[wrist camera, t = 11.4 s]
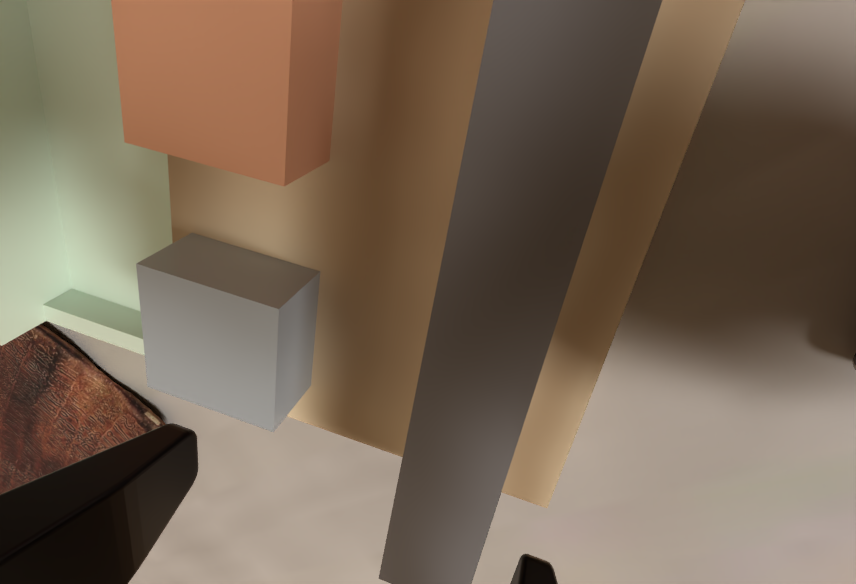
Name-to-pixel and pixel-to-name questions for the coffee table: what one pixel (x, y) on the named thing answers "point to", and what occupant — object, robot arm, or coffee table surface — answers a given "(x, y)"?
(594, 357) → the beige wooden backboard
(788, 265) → the coffee table surface
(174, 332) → the grey square block
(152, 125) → the terracotta tile
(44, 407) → the wooden tablet
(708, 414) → the coffee table surface
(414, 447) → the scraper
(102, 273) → the tray
